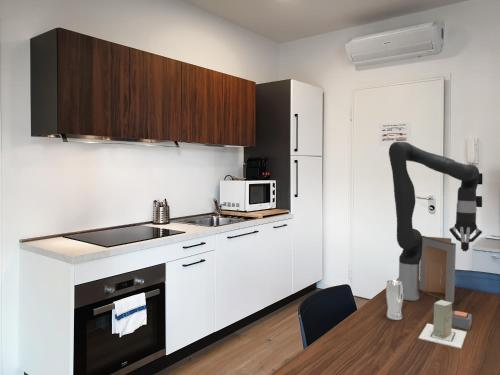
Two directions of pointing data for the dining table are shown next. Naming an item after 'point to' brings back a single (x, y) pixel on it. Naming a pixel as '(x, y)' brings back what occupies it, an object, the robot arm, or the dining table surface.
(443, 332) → the skincare box
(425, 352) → the dining table surface
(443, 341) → the paper sheet
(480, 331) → the dining table surface
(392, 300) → the beer glass
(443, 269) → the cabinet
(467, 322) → the button housing
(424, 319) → the dining table surface
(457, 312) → the button
